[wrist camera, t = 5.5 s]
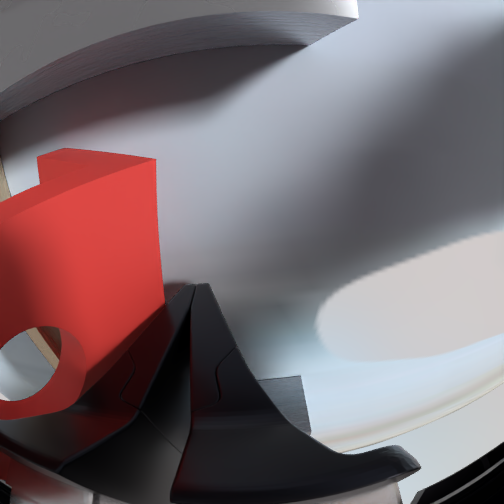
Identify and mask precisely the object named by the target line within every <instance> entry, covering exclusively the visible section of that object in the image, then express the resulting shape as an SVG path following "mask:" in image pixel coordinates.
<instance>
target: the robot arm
mask: <svg viewBox="0 0 504 504" xmlns="http://www.w3.org/2000/svg"><path fill="white" fill-rule="evenodd" d="M0 451H1V452H3V453H4V454H6V455H7V456H9V457H10V458H11V460H10V464H9V468H8V473H7V478H6V480H1V479H0V504H403V503H402V499H401V495H400V491H399V487H398V483H397V482H399V481H400V480H403V479H404V478H406V477H408V476H410V475H412V474H414V473H415V472H417V471H419V470H420V469H421V466H420V464H419V463H418V462H417V460H416V459H415V458H414V457H413V456H412V455H410V454H409V453H408V452H407V451H405V450H404V449H403V448H402V447H401V446H397V445H392V446H386V447H382V448H378V449H375V450H372V451H368V452H364V453H360V454H342V453H338V452H336V451H333V450H331V449H330V448H328V447H327V446H325V445H323V444H322V443H320V442H319V441H317V440H316V439H314V438H313V437H311V436H310V435H308V434H307V433H305V432H304V431H302V430H301V429H299V428H298V427H296V426H295V425H293V424H292V423H291V422H290V421H289V420H288V419H287V418H286V417H285V416H284V415H283V414H282V413H281V411H280V410H279V409H278V408H277V407H276V405H275V404H274V403H273V401H272V400H271V399H270V397H269V396H268V395H267V393H266V392H265V391H264V389H263V388H262V387H261V385H260V384H259V383H258V381H257V380H256V379H255V377H254V376H253V374H252V372H251V371H250V369H249V368H248V366H247V364H246V362H245V360H244V359H243V357H242V355H241V353H240V350H239V348H238V347H237V344H236V342H235V340H234V338H233V336H232V334H231V332H230V329H229V327H228V325H227V323H226V321H225V318H224V316H223V314H222V312H221V310H220V307H219V305H218V303H217V301H216V298H215V296H214V294H213V291H212V289H211V287H210V285H209V284H208V283H203V284H197V285H196V284H190V285H184V286H183V287H182V288H181V290H180V291H179V292H178V293H177V294H176V295H175V296H174V297H173V298H172V300H171V301H170V302H169V303H168V304H167V305H166V306H165V307H164V308H163V310H162V311H161V312H160V313H159V314H158V315H157V316H156V317H155V318H154V320H153V321H152V322H151V323H150V324H149V325H148V326H147V327H146V329H145V330H144V331H143V332H142V333H141V334H140V335H139V337H138V338H137V339H136V340H135V341H134V342H133V343H132V345H131V346H130V347H129V348H128V350H126V351H125V352H124V354H123V355H122V356H121V357H120V358H119V359H118V360H117V361H116V363H115V364H114V365H113V366H112V367H111V368H110V369H109V370H108V371H107V372H106V373H105V374H104V375H103V376H102V377H101V378H100V379H99V380H98V381H97V382H96V383H95V384H94V385H93V386H92V387H91V388H89V389H88V390H87V391H86V392H85V393H84V394H83V395H82V396H81V397H80V398H79V399H78V400H77V401H76V402H75V403H73V404H72V405H71V406H69V407H68V408H66V409H63V410H61V411H57V412H53V413H48V414H43V415H37V416H32V417H26V418H20V419H13V420H0ZM411 504H504V442H502V443H501V444H500V445H498V446H497V447H495V448H494V449H492V450H491V451H489V452H488V453H486V454H485V455H483V456H482V457H480V458H479V459H477V460H476V461H474V462H473V463H471V464H469V465H468V466H466V467H465V468H463V469H461V470H460V471H458V472H456V473H454V474H452V475H450V476H449V477H447V478H445V479H443V480H441V481H439V482H437V483H435V484H433V485H431V486H429V487H427V488H425V489H423V490H421V491H418V492H417V494H416V495H415V497H414V499H413V501H412V502H411Z"/></svg>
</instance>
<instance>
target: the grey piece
mask: <svg viewBox="0 0 504 504" xmlns="http://www.w3.org/2000/svg"><path fill="white" fill-rule="evenodd" d="M357 19H359V17H358V8H357V1H356V0H0V121H1V120H3V119H4V118H6V117H8V116H9V115H11V114H13V113H15V112H16V111H18V110H20V109H22V108H23V107H25V106H27V105H29V104H31V103H33V102H35V101H37V100H39V99H41V98H43V97H45V96H47V95H49V94H51V93H54V92H56V91H58V90H60V89H63V88H65V87H67V86H70V85H72V84H75V83H77V82H80V81H82V80H85V79H88V78H90V77H93V76H96V75H99V74H102V73H105V72H108V71H111V70H114V69H117V68H121V67H124V66H127V65H131V64H135V63H139V62H142V61H146V60H151V59H155V58H159V57H164V56H169V55H174V54H179V53H185V52H191V51H198V50H205V49H213V48H222V47H232V46H246V45H275V44H285V45H311V44H313V43H315V42H316V41H318V40H320V39H321V38H323V37H325V36H327V35H329V34H330V33H332V32H334V31H336V30H338V29H340V28H341V27H343V26H345V25H347V24H349V23H351V22H353V21H355V20H357ZM10 197H11V195H10V192H9V189H8V185H7V181H6V178H5V174H4V170H3V166H2V162H1V157H0V202H2V201H4V200H6V199H8V198H10ZM26 332H27V334H28V335H29V337H30V338H31V339H32V341H33V342H34V344H35V345H36V346H37V348H38V349H39V350H40V352H41V353H42V354H43V355H44V357H45V358H46V359H47V361H48V362H49V363H50V364H51V365H52V367H53V368H54V369H55V370H56V368H57V366H58V363H59V360H60V356H61V348H62V342H61V334H60V330H59V328H58V327H52V326H41V327H35V328H31V329H28V330H26ZM258 383H259V384H260V385H261V387H262V388H263V389H264V391H265V392H266V393H267V395H268V396H269V397H270V399H271V400H272V401H273V403H274V404H275V405H276V407H277V408H278V409H279V410H280V411H281V413H282V414H283V415H284V416H285V417H286V418H287V419H288V420H289V421H290V422H291V423H292V424H293V425H295V426H296V427H298V428H299V429H301V430H302V431H304V432H305V433H307V434H308V435H310V434H311V427H310V421H309V416H308V411H307V406H306V400H305V395H304V390H303V385H302V380H301V376H296V377H288V378H280V379H270V380H260V381H258Z"/></svg>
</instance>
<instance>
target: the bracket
mask: <svg viewBox="0 0 504 504" xmlns="http://www.w3.org/2000/svg"><path fill="white" fill-rule="evenodd" d="M37 164H38V172H39V179H40V184H39V185H37V186H34V187H32V188H30V189H28V190H25V191H23V192H21V193H19V194H17V195H14V196H12V197H10V198H8V199H6V200H4V201H2V202H0V349H1V348H2V347H3V346H4V345H5V344H6V343H7V342H8V341H9V340H10V339H12V338H13V337H14V336H16V335H18V334H19V333H21V332H23V331H26V330H28V329H31V328H35V327H41V326H52V327H58V328H59V330H60V334H61V342H62V348H61V356H60V360H59V363H58V366H57V368H56V371H55V373H54V374H53V376H52V378H51V379H50V380H49V382H48V383H47V384H46V385H45V386H44V387H43V388H42V389H41V390H40V391H39V392H37V393H36V394H34V395H33V396H31V397H29V398H26V399H23V400H19V401H5V400H1V399H0V420H13V419H20V418H26V417H32V416H37V415H43V414H48V413H53V412H57V411H61V410H63V409H66V408H68V407H69V406H71V405H72V404H73V403H75V402H76V401H77V400H78V399H79V398H80V397H81V396H82V395H83V394H84V393H85V392H86V391H87V390H88V389H89V388H91V387H92V386H93V385H94V384H95V383H96V382H97V381H98V380H99V379H100V378H101V377H102V376H103V375H104V374H105V373H106V372H107V371H108V370H109V369H110V368H111V367H112V366H113V365H114V364H115V363H116V361H117V360H118V359H119V358H120V357H121V356H122V355H123V354H124V352H125V351H126V350H128V348H129V347H130V346H131V345H132V343H133V342H134V341H135V340H136V339H137V338H138V337H139V335H140V334H141V333H142V332H143V331H144V330H145V329H146V327H147V326H148V325H149V324H150V323H151V322H152V321H153V320H154V318H155V317H156V316H157V315H158V314H159V313H160V312H161V311H162V310H163V308H164V307H165V306H166V305H165V297H164V289H163V280H162V270H161V259H160V247H159V234H158V217H157V193H156V159H152V158H145V157H139V156H132V155H125V154H117V153H109V152H101V151H92V150H82V149H71V148H63V149H59V150H56V151H53V152H50V153H47V154H44V155H41V156H38V157H37ZM10 460H11V458H10V457H9V456H7V455H6V454H4V453H3V452H1V451H0V479H1V480H6V478H7V473H8V468H9V464H10Z"/></svg>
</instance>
